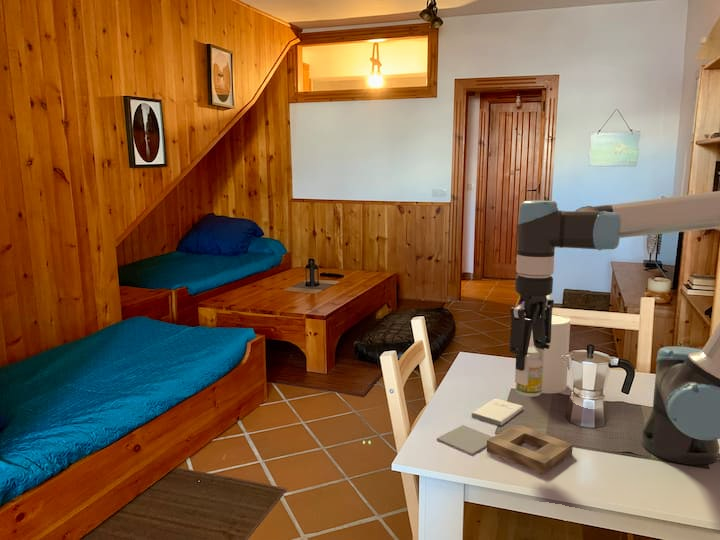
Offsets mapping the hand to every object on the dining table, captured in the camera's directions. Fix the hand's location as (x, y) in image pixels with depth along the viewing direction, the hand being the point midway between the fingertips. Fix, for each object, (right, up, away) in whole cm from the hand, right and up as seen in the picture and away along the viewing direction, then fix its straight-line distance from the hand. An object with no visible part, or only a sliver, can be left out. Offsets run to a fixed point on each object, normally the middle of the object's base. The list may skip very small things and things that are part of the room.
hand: (529, 379), depth 122 cm
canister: (+16, -10, +42) cm, 47 cm away
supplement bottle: (0, -3, 0) cm, 3 cm away
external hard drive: (-1, -14, +23) cm, 27 cm away
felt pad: (-12, -16, +9) cm, 21 cm away
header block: (+1, -17, +3) cm, 17 cm away
